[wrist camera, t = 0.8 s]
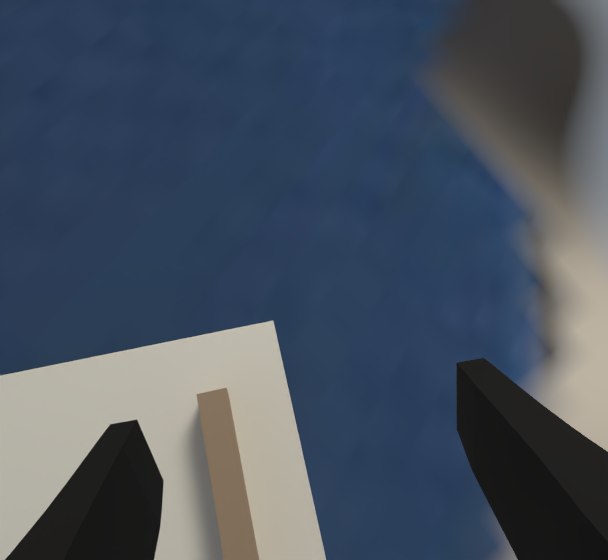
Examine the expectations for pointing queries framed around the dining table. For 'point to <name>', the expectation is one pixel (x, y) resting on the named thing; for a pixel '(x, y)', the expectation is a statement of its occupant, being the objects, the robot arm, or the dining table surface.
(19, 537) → the mailer lid
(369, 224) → the dining table surface
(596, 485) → the robot arm
